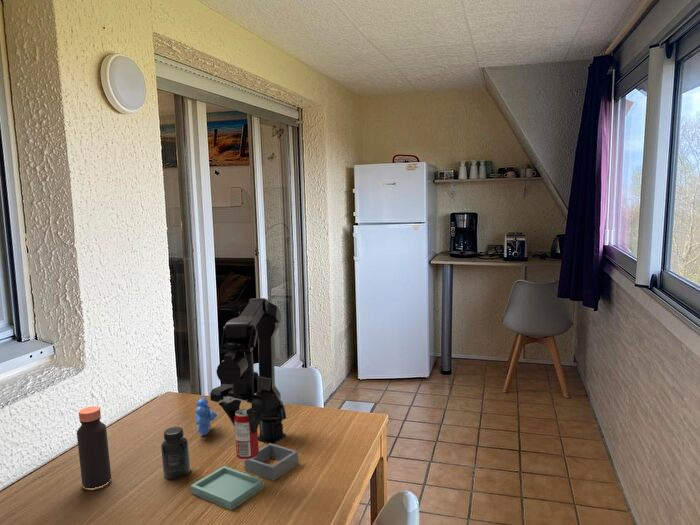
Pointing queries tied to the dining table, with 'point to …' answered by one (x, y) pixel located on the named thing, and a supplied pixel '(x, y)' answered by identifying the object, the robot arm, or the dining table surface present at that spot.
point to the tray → (227, 487)
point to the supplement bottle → (175, 454)
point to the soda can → (245, 436)
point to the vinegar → (93, 448)
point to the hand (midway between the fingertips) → (246, 430)
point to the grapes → (204, 416)
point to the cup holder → (273, 472)
